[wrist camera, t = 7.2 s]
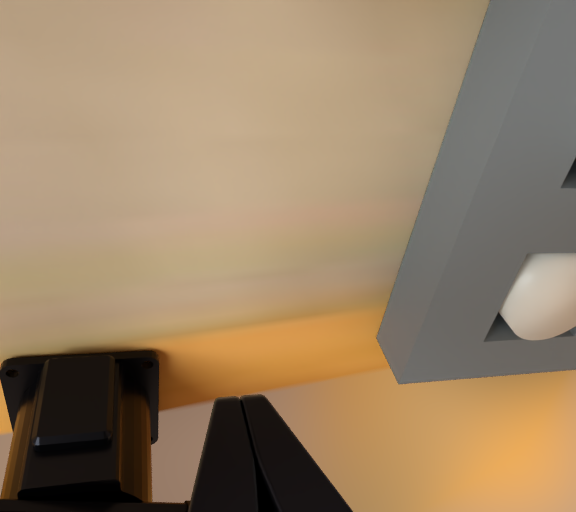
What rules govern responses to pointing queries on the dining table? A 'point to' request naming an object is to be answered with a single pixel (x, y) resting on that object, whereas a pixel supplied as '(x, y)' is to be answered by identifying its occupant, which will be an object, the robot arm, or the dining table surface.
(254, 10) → the dining table surface
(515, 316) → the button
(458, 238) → the button board
